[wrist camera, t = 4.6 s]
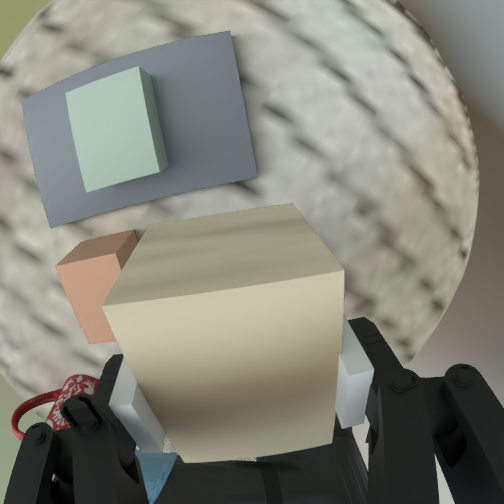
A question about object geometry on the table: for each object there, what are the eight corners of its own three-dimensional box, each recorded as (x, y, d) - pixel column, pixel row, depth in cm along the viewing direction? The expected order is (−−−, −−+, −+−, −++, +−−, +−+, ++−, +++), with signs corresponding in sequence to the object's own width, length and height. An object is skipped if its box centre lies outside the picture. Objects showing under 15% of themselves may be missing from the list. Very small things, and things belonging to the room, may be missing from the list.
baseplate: (255, 175, 27) (264, 185, 22) (57, 223, 27) (30, 243, 22) (229, 35, 22) (231, 14, 17) (29, 101, 22) (-3, 99, 17)
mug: (128, 387, 35) (107, 474, 23) (114, 421, 38) (96, 497, 25) (41, 345, 32) (-3, 421, 19) (38, 385, 34) (5, 454, 22)
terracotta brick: (157, 302, 31) (146, 337, 25) (106, 310, 31) (89, 343, 25) (134, 229, 28) (115, 253, 22) (81, 241, 28) (55, 266, 22)
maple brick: (302, 350, 16) (331, 443, 11) (190, 367, 16) (184, 462, 10) (292, 203, 13) (344, 270, 7) (148, 225, 13) (101, 305, 7)
